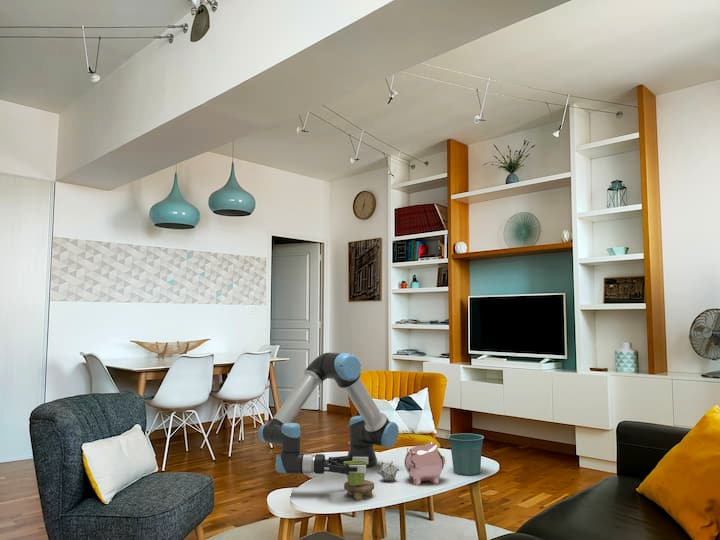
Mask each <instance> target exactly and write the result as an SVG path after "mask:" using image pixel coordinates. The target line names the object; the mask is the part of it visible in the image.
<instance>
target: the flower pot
mask: <svg viewBox="0 0 720 540" xmlns="http://www.w3.org/2000/svg"><path fill="white" fill-rule="evenodd" d="M447 439H448V440H449V446H450V450H451V451H450V452H451V459H452V460H451V461H452V468H453V473H454V474H456V473H457V475H465V476H476V475H479V474H480V473H481V469H482V468H481V466H482V465H481V463H482V447H483V441H484V439H485V437H484V435H482V434H476V433H467V432H466V433H451V434H449V435H448V436H447Z"/></svg>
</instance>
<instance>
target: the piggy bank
mask: <svg viewBox="0 0 720 540" xmlns="http://www.w3.org/2000/svg"><path fill="white" fill-rule="evenodd" d="M438 447H439V445H438V444H436V443H435V444H434V442H433V440H432V441H429V442H427V443H426V444H422V445H421V444H419V445H415V446H413V447H410V449H409V447H406V455H405V457H404V467H405V471H406V472H407V474H408V476H407V477H408V478H407V480H409V481H413V485H415V486H420V485H421V484H422V482H431V483H432V484H434V485H438V484H440V476H441V475H442V472H443V470H444V466H445V465H446V457H445V456H444V455H442V454H441V452H440V451H439V450H438Z"/></svg>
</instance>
